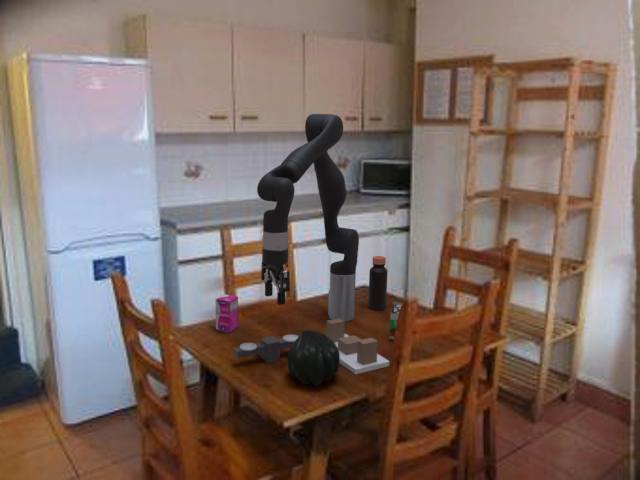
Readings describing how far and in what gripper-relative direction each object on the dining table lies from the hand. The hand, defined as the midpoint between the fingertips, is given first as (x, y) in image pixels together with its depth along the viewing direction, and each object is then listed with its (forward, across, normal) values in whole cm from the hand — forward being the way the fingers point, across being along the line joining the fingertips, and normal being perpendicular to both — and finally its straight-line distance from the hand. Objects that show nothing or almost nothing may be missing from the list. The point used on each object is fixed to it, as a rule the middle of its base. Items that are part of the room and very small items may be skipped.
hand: (274, 300), depth 165 cm
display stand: (+19, +8, +22) cm, 30 cm away
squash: (+19, +16, +4) cm, 25 cm away
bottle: (+18, -24, +55) cm, 63 cm away
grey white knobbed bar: (+19, -1, -1) cm, 19 cm away
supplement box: (+19, -29, -4) cm, 35 cm away
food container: (+19, +3, +45) cm, 49 cm away
